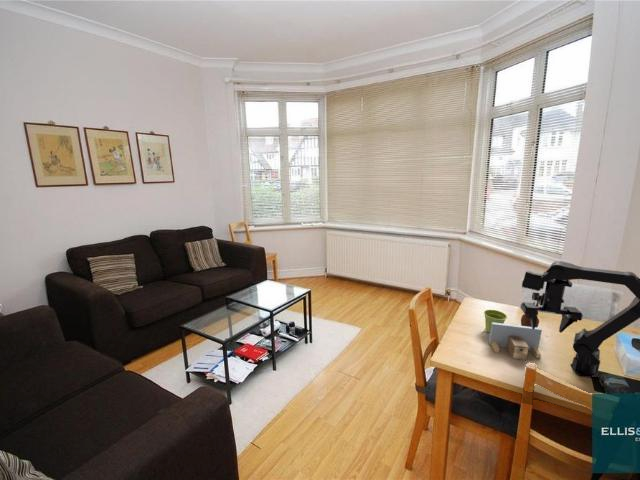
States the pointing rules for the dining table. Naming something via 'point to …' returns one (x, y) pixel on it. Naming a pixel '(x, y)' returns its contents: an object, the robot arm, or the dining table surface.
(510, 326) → the grey toy bench
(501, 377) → the dining table surface
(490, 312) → the plant pot
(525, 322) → the wooden figurine
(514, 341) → the cabinet block
